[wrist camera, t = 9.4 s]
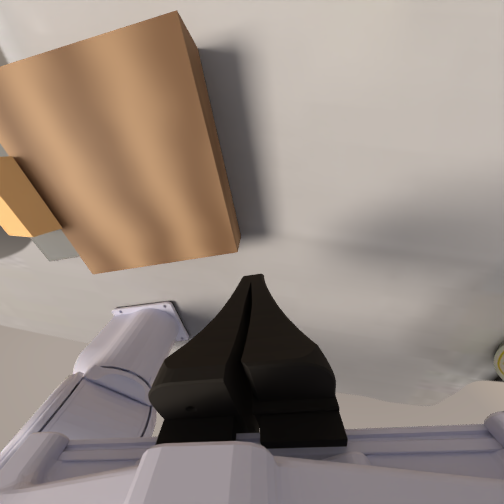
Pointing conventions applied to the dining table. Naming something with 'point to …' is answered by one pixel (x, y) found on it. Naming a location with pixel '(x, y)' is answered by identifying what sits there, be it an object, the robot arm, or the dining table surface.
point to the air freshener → (499, 361)
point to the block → (22, 203)
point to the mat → (51, 239)
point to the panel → (123, 146)
